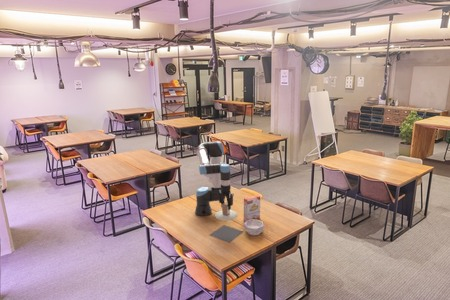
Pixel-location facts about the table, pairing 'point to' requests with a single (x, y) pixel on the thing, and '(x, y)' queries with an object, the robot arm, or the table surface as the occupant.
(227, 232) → the mat
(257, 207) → the cracker box
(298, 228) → the table surface
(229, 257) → the table surface
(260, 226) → the paper bowls
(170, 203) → the table surface
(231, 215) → the lid
